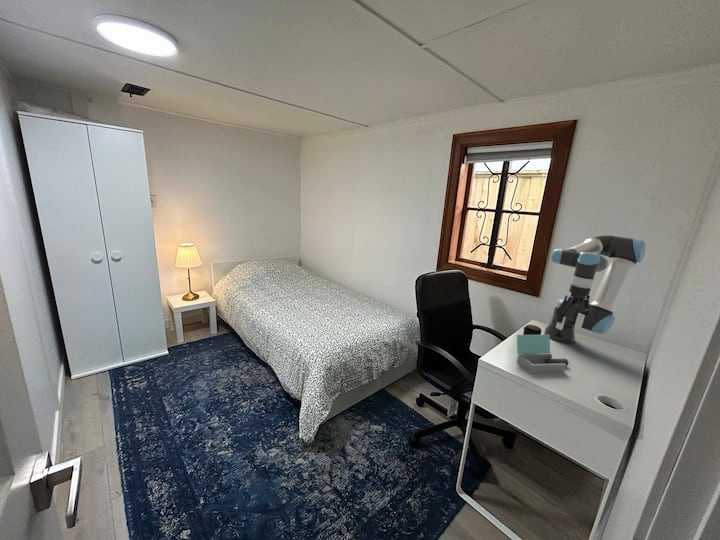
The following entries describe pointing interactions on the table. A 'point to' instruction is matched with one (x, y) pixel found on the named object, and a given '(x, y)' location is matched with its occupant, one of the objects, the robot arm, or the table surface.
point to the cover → (533, 344)
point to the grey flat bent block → (528, 359)
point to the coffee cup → (532, 330)
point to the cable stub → (556, 361)
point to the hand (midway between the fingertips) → (568, 327)
